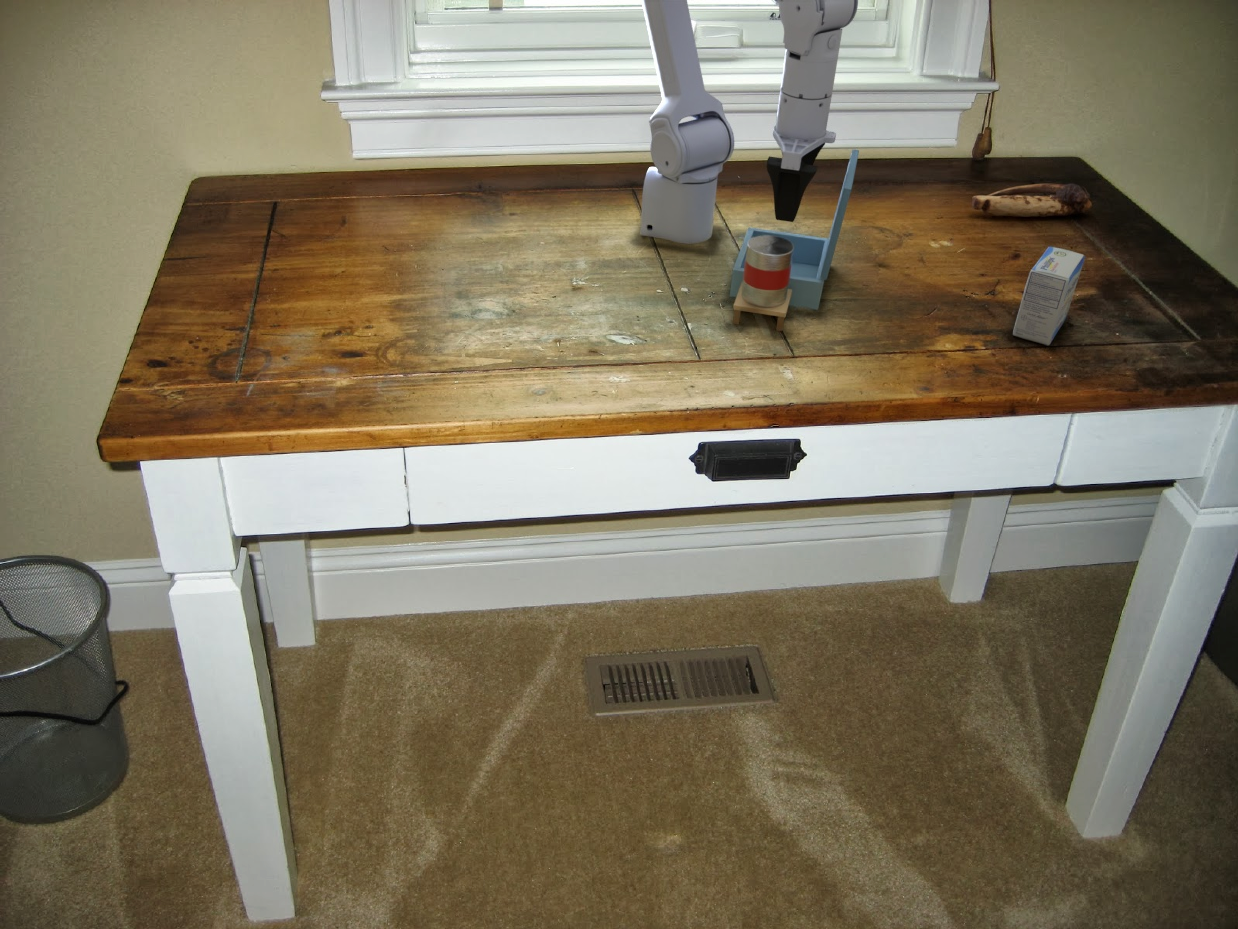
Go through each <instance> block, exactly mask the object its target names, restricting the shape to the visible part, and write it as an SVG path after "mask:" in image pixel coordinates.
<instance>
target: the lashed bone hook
mask: <svg viewBox="0 0 1238 929" xmlns="http://www.w3.org/2000/svg"><path fill="white" fill-rule="evenodd" d="M1042 193H1043V194H1050V195H1030V194H1042ZM1024 194H1025V195H1024ZM1027 194H1029V195H1027ZM1090 198H1091V195H1090V193H1089V192H1088V191H1087V188H1086V187H1084V186H1080V185H1078V184H1075V183H1067V184H1063V183H1062V184H1060V183H1035V184H1024V185H1017V186H1011V187H1008V188H1003V189H1001V190H997V191H995V192H992V193H990V194H987V195H981V194H980V195H973V196H972V198H971V206H972V208H973V209H974V210H977V211H981V210H982V212H983V213H985V214H989V215H991V216H1005V217H1008V216H1011V217H1014V218H1023V217H1024V218H1029V217H1035V218H1036V217H1041V218H1043V217H1044V218H1045V217H1046V218H1047V217H1060V216H1061V217H1068V216H1070V215H1075V214H1082V213H1083V214H1084V213H1087V212H1089V211H1090V210H1091V209H1092V207H1093V206H1092V202H1091V200H1090Z"/></svg>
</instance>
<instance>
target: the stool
mask: <svg viewBox="0 0 1238 929" xmlns="http://www.w3.org/2000/svg"><path fill="white" fill-rule="evenodd" d="M742 284H743V282H742V283H741V286H740V289H739V291H738V294H737V297H735V300H734V303H733V308H732V309H733V310H734V311H733V320H732V324H734V325H740V322H741V316H742V314H741V313H742V312H747V313H748V312H749V313H753V314H761V315H767V316H774V317H777V322H776V328H775V329H776V331H778V332H783V330H784V324H785V318H786V316H787V313H788V311H789V307H790V306H789V302H790V298H791V295H792V290H791V289H788V292H787V298H786V301H785V303H784V304H782V305H780V306H777V307H758V306H754V305H752V304H749V303H747V302H746V301H745V300H744V299H743V298H742V296H741V293H742Z"/></svg>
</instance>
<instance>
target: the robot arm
mask: <svg viewBox="0 0 1238 929" xmlns="http://www.w3.org/2000/svg"><path fill="white" fill-rule="evenodd" d="M771 1H772V2H773V3H774V4H775V5H776V6H777V7H778V13H779V19H780V22H781V25H782V27H783V39H782V43H783V45H784V49H785V52H784V58H783V65H782V66H783V67H782V75H781V82H780V89H779V97H778V103H777V104H778V105H777V113H776V119H775V125H774V126H773V130H772V137H773V139H774V140H775V142H776V144H777V146H778V148H779V149H780V151H781V155H782V157H776V156H771V155H769V156H768V158H767V160H766V171H767V174H768V176H769V179H770V182H771V185H772V191H773V207H774V216H775V220H776V221H783V222H789V223H794V222H795V219H796V218H797V215H798V212H799V209H800V206H801V203H802V200H803V196H804V193H805V192H806V189H807V187H808V185H809V184H810V182H812V180H813V178H814V176H816V174H817V172H818V169H819V166H818V165H814V163H815V161H816V160H817V157H818V156H819V154H820V152H821V151H822V149H823V147H825V145H826V144H834V143H835V142H836V137H837V132H835V131H831V130H827V128H828V120H829V115H830V109H831V103H832V97H833V91H834V86H835V79H836V72H837V65H838V60H839V53H840V47H841V42H842V41H841V40H842V34H843V29H844V28H846V27H847V26H849V25H850V24H851V23H852V22H853V21H854V19H855V17H856V15H857V11H858V7H859V0H771ZM688 3H689V2H688V0H641V6H642V10H643V15H644V19H645V24H646V29H647V33H648V38H649V44H650V48H651V52H652V58H653V62H654V68H655V71H656V76H657V81H658V86H659V90H660V95H661V102H660V104H659V105H658V107H657V108H656V109H655V111H654V112H653V114H652V115H651V116H650V118H649V120H648V124H649V130H650V146H649V148H650V157H651V160H652V163H653V165H654V166H650V167H649V168H648V169H647V171H646V174H645V177H644V181H643V187H642V196H641V197H642V198H641V211H640V212H641V213H640V227H639V228H640V229H639V235H640V236H645V237H651V238H657V239H663V240H667V241H671V242H674V243H679V244H698V243H703V242H706V241H708V240H709V239H710V238H712V236H713V229H714V218H715V217H714V216H715V208H716V198H717V191H718V190H717V188H718V179H719V178H718V177H719V174H720V173H722V172H723V169H724V166H723V165H724V164H725V163H726V162H728V161H729V160H730V159H731V157H732V156H733V152H734V150H735V135H734V131H733V128H732V126H731V124H730V123H729V121H728V120H727V117H726V114H725V111H724V106H723V103H722V101H721V100H719V99H718V98H716V97H715V96H714V95H712V93H710V92H708V91H707V90H706V89H705V83H704V78H703V73H702V69H701V64H700V58H699V54H698V49H697V44H696V39H695V33H694V28H693V24H692V19H691V14H690V9H689V4H688ZM689 117H690V118H691V117H692V118H694V119H691V120H687V121H683V122H681V121H682V120H683V119H685V118H689ZM649 226H652V227H651V228H649Z"/></svg>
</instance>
